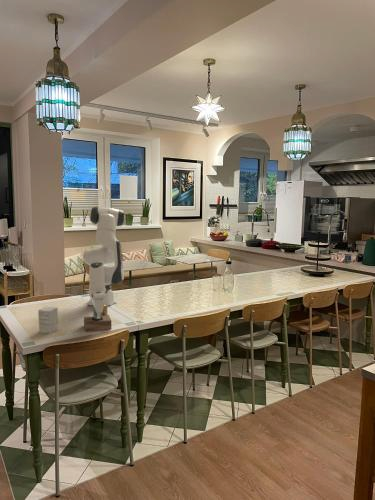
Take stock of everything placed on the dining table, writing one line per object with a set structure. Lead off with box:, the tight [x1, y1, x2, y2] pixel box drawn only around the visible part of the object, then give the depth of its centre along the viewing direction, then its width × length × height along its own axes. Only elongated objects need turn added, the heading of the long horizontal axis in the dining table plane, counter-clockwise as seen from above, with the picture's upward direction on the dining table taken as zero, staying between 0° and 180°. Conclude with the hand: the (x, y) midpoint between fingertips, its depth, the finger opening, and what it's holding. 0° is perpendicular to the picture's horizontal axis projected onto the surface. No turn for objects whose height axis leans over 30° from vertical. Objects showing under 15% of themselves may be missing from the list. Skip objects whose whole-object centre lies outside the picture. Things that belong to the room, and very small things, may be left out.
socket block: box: [83, 314, 112, 332], centre depth 214 cm, size 10×14×5 cm
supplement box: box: [37, 305, 59, 334], centre depth 207 cm, size 7×7×13 cm
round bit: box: [101, 304, 108, 316], centre depth 225 cm, size 4×4×10 cm
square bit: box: [92, 307, 102, 321], centre depth 214 cm, size 4×4×10 cm
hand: (97, 315), depth 214 cm, fingers open, 8 cm apart
